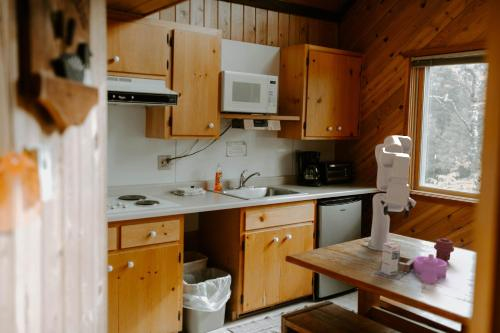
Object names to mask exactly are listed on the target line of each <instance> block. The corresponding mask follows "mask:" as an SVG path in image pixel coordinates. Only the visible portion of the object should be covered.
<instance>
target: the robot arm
mask: <svg viewBox="0 0 500 333" xmlns="http://www.w3.org/2000/svg"><path fill="white" fill-rule="evenodd" d="M412 149H413V141H412V138H410V137H409V136H403V135H389V136H387V137H386V138H384V140H383V143H380V144H377V145H376V146H375V150H374V153H375V154H374V155H375V160H376V162H377V174H376V175H377V176H376V187H377V188H376V189H378V190H379V191H382V192H386V193H376V194H374V195H373V198H372V223H371V233H370V238H367V237H364V238H363V242H364V243H367V245H366V246H367V248H368V249H370V250H373V251H379V252H380V251H381V252H383V244H384V243H389V235H390V234H389V232H390V221H391V218H390V215H389V214H388V212H397V213H398V212H399V213H400V212H402V211H404V210H405V211H404V217H403V218H404V219H406V220H407V219H408V218H409V217H410V210H412V209H413V208H414V207H415V206H416V204H417V201H416V200H414V199H413V198H411V197H410V187H409V185H410V184H408V180H409V172H410V171H409V170H410V166H411V162H412V159H411V156H410V154H411V152H412ZM409 203H411V205H409Z"/></svg>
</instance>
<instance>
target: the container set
mask: <svg viewBox="0 0 500 333" xmlns="http://www.w3.org/2000/svg"><path fill="white" fill-rule="evenodd" d="M434 256H435V255H434V254H433V253H432V254H430V253H429V254H428V256H426V255H424V256H423V255H422V256H421V255H420V256H415V257H414V264H413V269H412V272H413V274H414V275H416V274H417V276H419V278H420V280H421V282H423V283H424V284H426V285H433V284H435V283H436V282H437V280H442V279H445V278H446V277H447V268H448V263H447V262H445V261H443V260H441V259H437V258H436V257H434Z"/></svg>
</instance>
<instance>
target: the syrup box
mask: <svg viewBox="0 0 500 333" xmlns="http://www.w3.org/2000/svg"><path fill="white" fill-rule="evenodd" d="M400 256H401V245H400V244H399V243H397V242H393V241H392V242H388V243H384V244H383V251H382V259H381V263H382V267H381V268H382V269H381V271H382V272H383V273H385V274H388V275H394V274H398V269H399V258H400Z"/></svg>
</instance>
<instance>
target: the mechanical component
mask: <svg viewBox="0 0 500 333" xmlns="http://www.w3.org/2000/svg"><path fill="white" fill-rule="evenodd" d="M453 246H454V242H453V241H452V240H450V239H449V238H445V237H442V238H437V239H436V240H435V244H434V245H433V249H434V250H436V251H435V253H436V254H435V258H437V259H441V260H443V261H445V262H446V263H447V262H449V261H450V260H451V253H453V252H454V251H455V247H453Z"/></svg>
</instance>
